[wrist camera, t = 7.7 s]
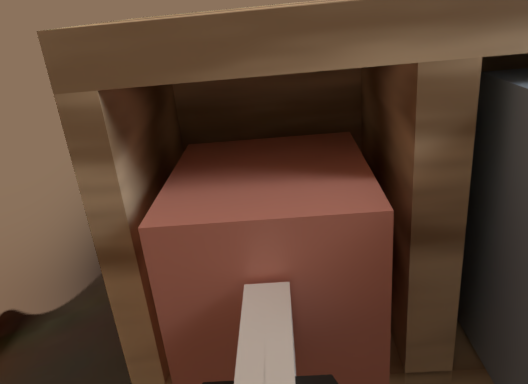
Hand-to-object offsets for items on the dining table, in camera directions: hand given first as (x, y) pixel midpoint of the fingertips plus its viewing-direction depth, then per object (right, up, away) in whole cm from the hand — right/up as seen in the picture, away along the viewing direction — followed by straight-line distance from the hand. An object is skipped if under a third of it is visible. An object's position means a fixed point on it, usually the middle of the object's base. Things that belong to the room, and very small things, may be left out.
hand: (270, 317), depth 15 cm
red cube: (+1, -3, +6) cm, 7 cm away
